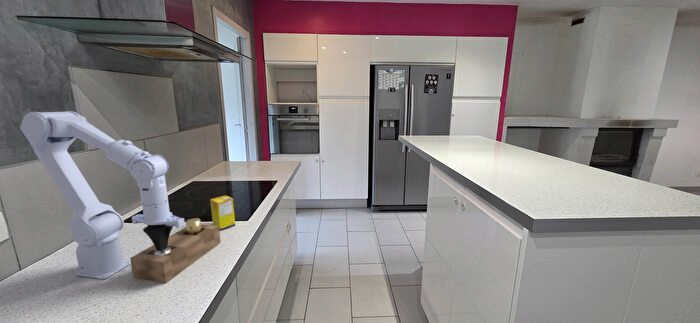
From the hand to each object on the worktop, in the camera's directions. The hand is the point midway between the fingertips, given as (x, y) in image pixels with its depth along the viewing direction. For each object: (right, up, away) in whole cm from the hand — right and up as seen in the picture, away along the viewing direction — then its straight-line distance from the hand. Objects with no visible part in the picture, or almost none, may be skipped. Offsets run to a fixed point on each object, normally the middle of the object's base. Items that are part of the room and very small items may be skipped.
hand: (162, 249), depth 77 cm
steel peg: (0, -6, +1) cm, 6 cm away
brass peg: (+2, 0, +12) cm, 12 cm away
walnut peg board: (+1, -5, +7) cm, 9 cm away
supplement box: (+4, -1, +30) cm, 30 cm away
